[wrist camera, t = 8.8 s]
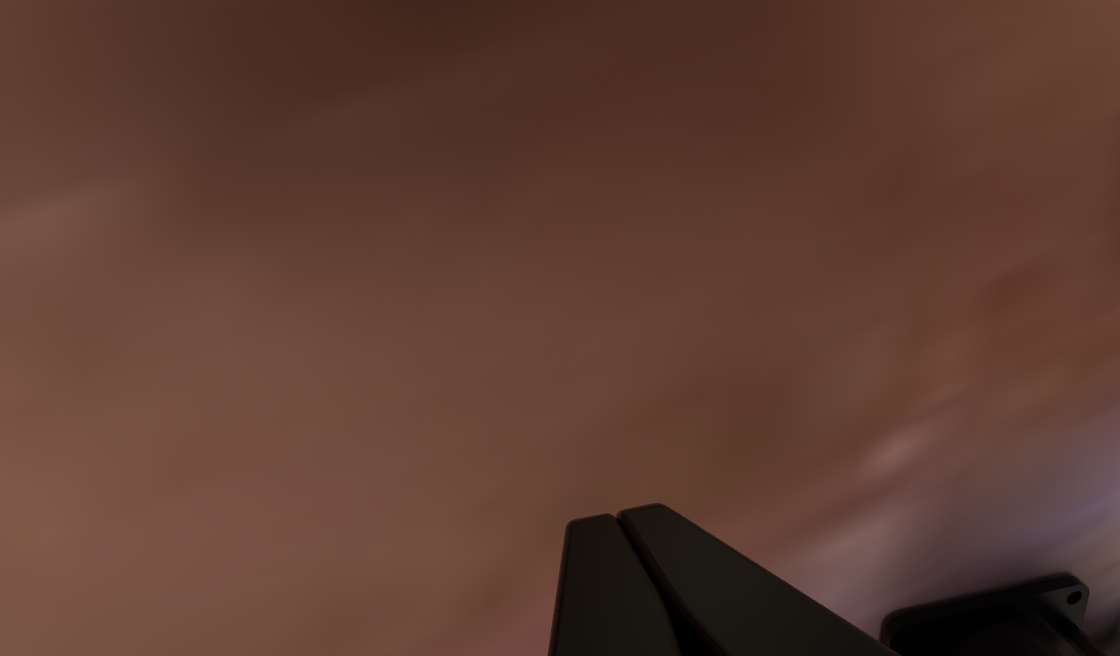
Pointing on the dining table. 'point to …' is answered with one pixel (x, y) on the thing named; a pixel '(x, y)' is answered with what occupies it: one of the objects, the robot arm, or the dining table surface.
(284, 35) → the dining table surface
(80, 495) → the dining table surface
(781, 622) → the robot arm
